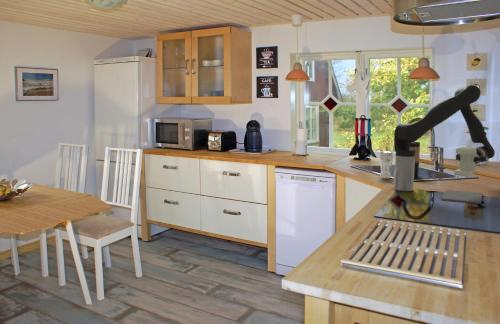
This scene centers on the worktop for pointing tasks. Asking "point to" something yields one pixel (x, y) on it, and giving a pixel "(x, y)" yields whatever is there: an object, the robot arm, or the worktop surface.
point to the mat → (462, 196)
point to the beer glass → (386, 164)
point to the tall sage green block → (466, 161)
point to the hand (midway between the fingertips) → (467, 159)
